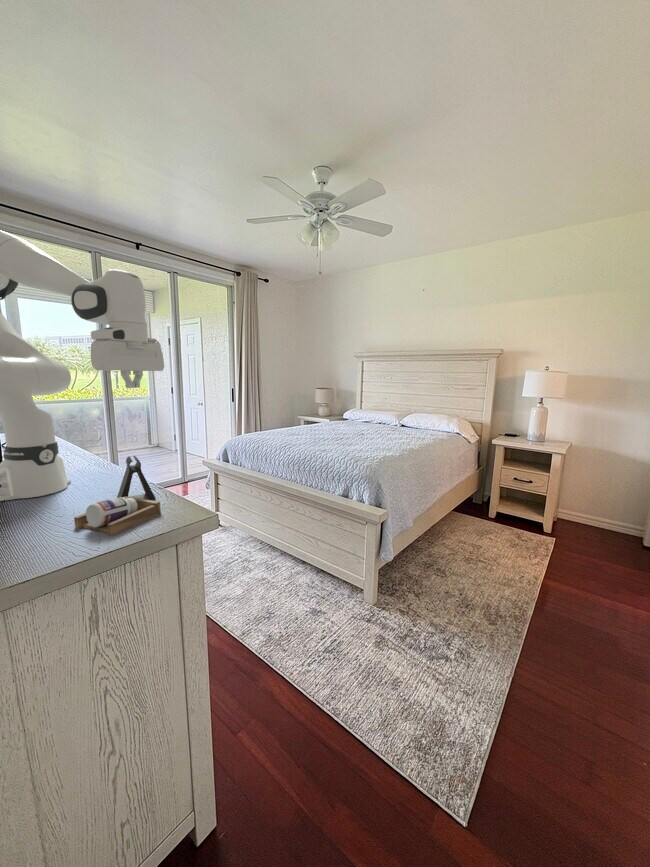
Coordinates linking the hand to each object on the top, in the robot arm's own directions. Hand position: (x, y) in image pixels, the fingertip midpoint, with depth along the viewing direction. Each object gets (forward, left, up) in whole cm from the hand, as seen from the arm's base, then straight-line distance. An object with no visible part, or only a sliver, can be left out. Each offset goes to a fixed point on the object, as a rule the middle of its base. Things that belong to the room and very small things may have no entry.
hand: (133, 387), depth 97 cm
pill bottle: (+9, -21, -27) cm, 36 cm away
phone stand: (+1, -3, -31) cm, 31 cm away
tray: (+9, -15, -31) cm, 35 cm away
